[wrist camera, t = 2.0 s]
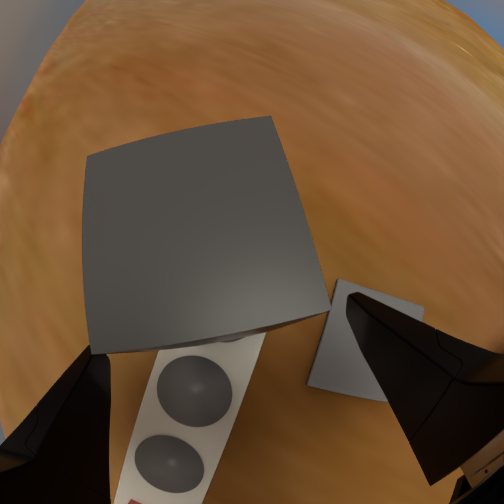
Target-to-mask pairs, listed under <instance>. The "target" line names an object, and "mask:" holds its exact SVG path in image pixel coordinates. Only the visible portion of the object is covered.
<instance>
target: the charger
mask: <svg viewBox="0 0 504 504" xmlns="http://www.w3.org/2000/svg"><path fill="white" fill-rule="evenodd" d="M82 266H83V285H84V299H85V309H86V319H87V327H88V335H89V342H90V348H91V354H114V353H130V352H144V351H156V350H166V349H176V348H185V347H194V346H200V345H206V344H212V343H217V342H222V341H227V340H232V339H237V338H242V337H247V336H252V335H256V334H261V333H265V332H269V331H272V330H275V329H278V328H281V327H284V326H287V325H290V324H293V323H296V322H299V321H302V320H305V319H308V318H311V317H314V316H316V315H319V314H322V313H325V312H327V311H330V310H332V308H331V305H330V301H329V297H328V293H327V289H326V285H325V282H324V278H323V274H322V271H321V267H320V264H319V260H318V257H317V253H316V250H315V246H314V243H313V239H312V236H311V233H310V229H309V226H308V223H307V220H306V216H305V213H304V210H303V207H302V204H301V201H300V197H299V194H298V191H297V188H296V185H295V182H294V179H293V176H292V173H291V170H290V167H289V165H288V162H287V159H286V156H285V153H284V150H283V147H282V145H281V142H280V139H279V136H278V134H277V131H276V128H275V125H274V123H273V120H272V117H271V116H265V117H257V118H249V119H242V120H235V121H228V122H222V123H216V124H210V125H205V126H199V127H194V128H189V129H184V130H180V131H175V132H171V133H166V134H162V135H158V136H154V137H150V138H146V139H142V140H138V141H135V142H131V143H127V144H124V145H120V146H117V147H114V148H110V149H107V150H104V151H101V152H98V153H95V154H92V155H89V156H87V161H86V170H85V181H84V194H83V214H82Z"/></svg>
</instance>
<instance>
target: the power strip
mask: <svg viewBox="0 0 504 504" xmlns="http://www.w3.org/2000/svg"><path fill="white" fill-rule="evenodd" d="M265 334H266V332H265V333H261V334H256V335H252V336H247V337H242V338H237V339H232V340H227V341H222V342H217V343H212V344H206V345H200V346H194V347H185V348H176V349H166V350H159V352H158V354H157V357H156V360H155V363H154V366H153V369H152V372H151V375H150V378H149V381H148V384H147V387H146V390H145V394H144V397H143V400H142V403H141V406H140V409H139V413H138V416H137V419H136V423H135V426H134V429H133V433H132V436H131V440H130V443H129V447H128V450H127V454H126V457H125V461H124V465H123V469H122V472H121V476H120V480H119V484H118V488H117V492H116V496H115V501H114V504H202V502H203V499H204V497H205V495H206V492H207V490H208V487H209V485H210V483H211V480H212V478H213V475H214V473H215V470H216V468H217V465H218V463H219V460H220V458H221V455H222V453H223V450H224V448H225V445H226V442H227V440H228V437H229V435H230V432H231V429H232V427H233V424H234V421H235V419H236V416H237V413H238V411H239V408H240V405H241V403H242V400H243V397H244V394H245V392H246V389H247V386H248V383H249V380H250V378H251V375H252V372H253V369H254V366H255V363H256V361H257V358H258V355H259V352H260V349H261V346H262V343H263V340H264V337H265Z"/></svg>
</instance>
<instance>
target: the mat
mask: <svg viewBox="0 0 504 504" xmlns="http://www.w3.org/2000/svg"><path fill="white" fill-rule="evenodd" d="M354 292H360V293H362V294H365V295H367V296H369V297H371V298H373V299H375V300H377V301H379V302H381V303H384V304H386V305H388V306H390V307H392V308H394V309H396V310H398V311H400V312H402V313H404V314H406V315H409V316H411V317H413V318H415V319H417V320H419V321H421V322H422V317H423V312H424V307H423V306H420V305H417V304H414V303H411V302H408V301H405V300H402V299H399V298H396V297H393V296H390V295H387V294H384V293H381V292H378V291H375V290H372V289H369V288H366V287H363V286H360V285H357V284H354V283H351V282H348V281H345V280H342V279H337V282H336V285H335V289H334V293H333V297H332V301H331V304H330V305H331V308H332V310H330V311H329V312H328V315H327V319H326V322H325V326H324V329H323V332H322V336H321V339H320V342H319V346H318V349H317V352H316V355H315V358H314V361H313V364H312V367H311V371H310V373H309V376H308V379H307V382H306V385H307V386H311V387H315V388H319V389H324V390H328V391H332V392H337V393H341V394H346V395H351V396H356V397H361V398H366V399H372V400H377V401H383V402H388V400H387V398H386V397H385V395H384V393H383V391H382V389H381V387H380V385H379V384H378V382H377V380H376V378H375V376H374V374H373V373H372V371H371V369H370V367H369V365H368V363H367V362H366V360H365V358H364V356H363V354H362V352H361V350H360V348H359V346H358V343H357V341H356V339H355V336H354V334H353V332H352V329H351V327H350V324H349V322H348V320H347V317H346V302H347V296H348V295H349V294H351V293H354Z"/></svg>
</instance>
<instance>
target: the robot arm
mask: <svg viewBox="0 0 504 504" xmlns="http://www.w3.org/2000/svg"><path fill="white" fill-rule="evenodd" d="M346 317H347V320H348V322H349V324H350V327H351V329H352V332H353V334H354V336H355V339H356V341H357V343H358V346H359V348H360V350H361V352H362V354H363V356H364V358H365V360H366V362H367V363H368V365H369V367H370V369H371V371H372V373H373V374H374V376H375V378H376V380H377V382H378V384H379V385H380V387H381V389H382V391H383V393H384V395H385V397H386V398H387V400H388V402H389V404H390V406H391V408H392V410H393V412H394V414H395V416H396V418H397V419H398V421H399V423H400V425H401V427H402V429H403V431H404V433H405V435H406V437H407V439H408V441H409V444H410V446H411V448H412V450H413V452H414V454H415V456H416V458H417V460H418V462H419V464H420V466H421V468H422V470H423V472H424V475H425V477H426V479H427V481H428V483H429V485H430V486H432V485H433V484H435V483H436V482H438V481H440V480H441V479H443V478H444V477H446V476H447V475H449V474H450V473H452V472H453V471H454V470H456V469H457V468H459V467H461V469H462V471H463V473H464V475H463V476H461V477H460V478H458V479H457V482H456V486H455V489H454V491H453V494H452V497H451V500H450V503H449V504H504V354H499V353H494V352H491V351H488V350H486V349H483V348H480V347H478V346H475V345H472V344H470V343H467V342H465V341H462V340H460V339H457V338H455V337H453V336H450V335H448V334H446V333H444V332H442V331H440V330H438V329H436V330H435V328H433V327H431V326H429V325H427V324H425V323H423V322H421V321H419V320H417V319H415V318H413V317H411V316H409V315H406V314H404V313H402V312H400V311H398V310H396V309H394V308H392V307H390V306H388V305H386V304H384V303H381V302H379V301H377V300H375V299H373V298H371V297H369V296H367V295H365V294H362V293H360V292H354V293H351V294H349V295H348V296H347V302H346ZM110 409H111V373H110V360H109V358H108V356H107V355H106V354H91V348H90V345H88V346H87V348H86V349H85V350H84V351H83V352H82V353H81V354H80V355H79V356H78V357H77V359H76V360H75V361H74V362H73V363H72V364H71V365H70V366H69V368H68V369H67V370H66V371H65V372H64V373H63V374H62V376H61V377H60V378H59V379H58V380H57V381H56V382H55V384H54V385H53V386H52V387H51V388H50V389H49V391H48V392H47V393H46V394H45V395H44V397H43V398H42V399H41V400H40V401H39V403H38V404H37V406H35V407H34V409H33V410H32V411H31V412H30V413H29V415H28V416H27V417H26V418H25V419H24V420H23V422H22V423H21V424H20V425H19V426H18V427H17V428H16V429H15V430H14V431H13V432H12V433H11V434H10V436H9V437H8V438H7V439H6V440H5V441H4V442H3V443H2V444H1V445H0V504H111V499H110V480H109V430H110Z"/></svg>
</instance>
